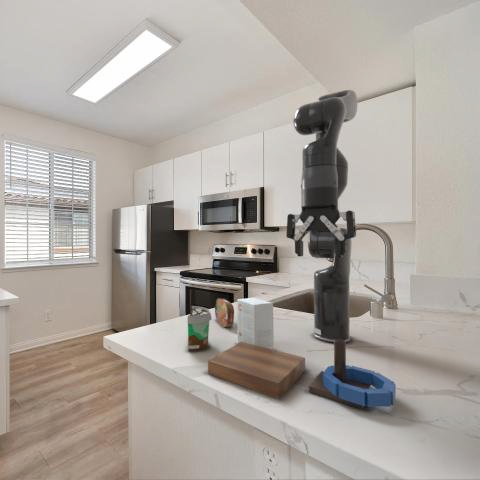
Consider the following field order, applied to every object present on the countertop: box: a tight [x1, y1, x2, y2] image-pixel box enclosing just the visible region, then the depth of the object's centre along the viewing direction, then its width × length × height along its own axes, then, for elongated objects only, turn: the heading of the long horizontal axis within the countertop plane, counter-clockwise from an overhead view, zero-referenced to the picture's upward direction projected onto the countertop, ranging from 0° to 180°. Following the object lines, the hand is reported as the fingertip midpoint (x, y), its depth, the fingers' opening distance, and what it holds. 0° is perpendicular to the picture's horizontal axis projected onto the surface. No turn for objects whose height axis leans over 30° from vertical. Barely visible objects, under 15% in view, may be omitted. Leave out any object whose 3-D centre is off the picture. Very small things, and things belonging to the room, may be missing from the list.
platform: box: [207, 342, 306, 400], centre depth 68 cm, size 16×16×3 cm
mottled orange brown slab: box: [214, 297, 235, 328], centre depth 106 cm, size 15×3×8 cm, turn 5°
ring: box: [323, 364, 397, 408], centre depth 58 cm, size 11×11×2 cm
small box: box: [236, 297, 275, 350], centre depth 83 cm, size 8×6×13 cm
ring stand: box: [308, 339, 372, 410], centre depth 60 cm, size 9×9×10 cm
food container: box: [187, 305, 212, 353], centre depth 85 cm, size 12×6×10 cm, turn 168°
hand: (319, 256), depth 70 cm, fingers open, 8 cm apart
